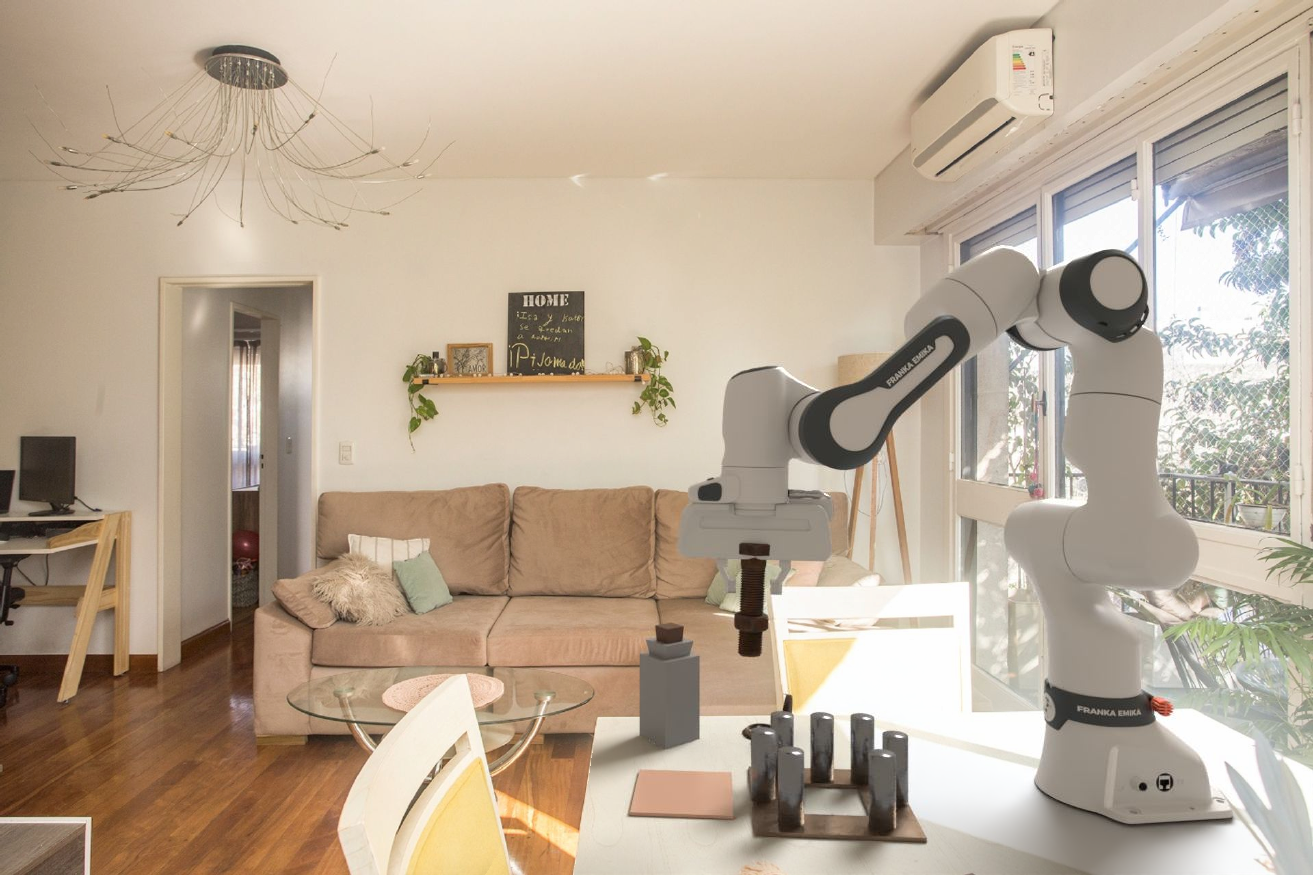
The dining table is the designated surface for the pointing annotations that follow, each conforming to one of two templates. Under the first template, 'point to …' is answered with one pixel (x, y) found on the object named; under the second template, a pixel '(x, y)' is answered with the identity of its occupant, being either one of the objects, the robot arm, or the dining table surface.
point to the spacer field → (830, 781)
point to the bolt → (752, 600)
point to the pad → (683, 794)
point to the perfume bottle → (669, 688)
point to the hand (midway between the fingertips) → (752, 593)
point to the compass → (747, 731)
